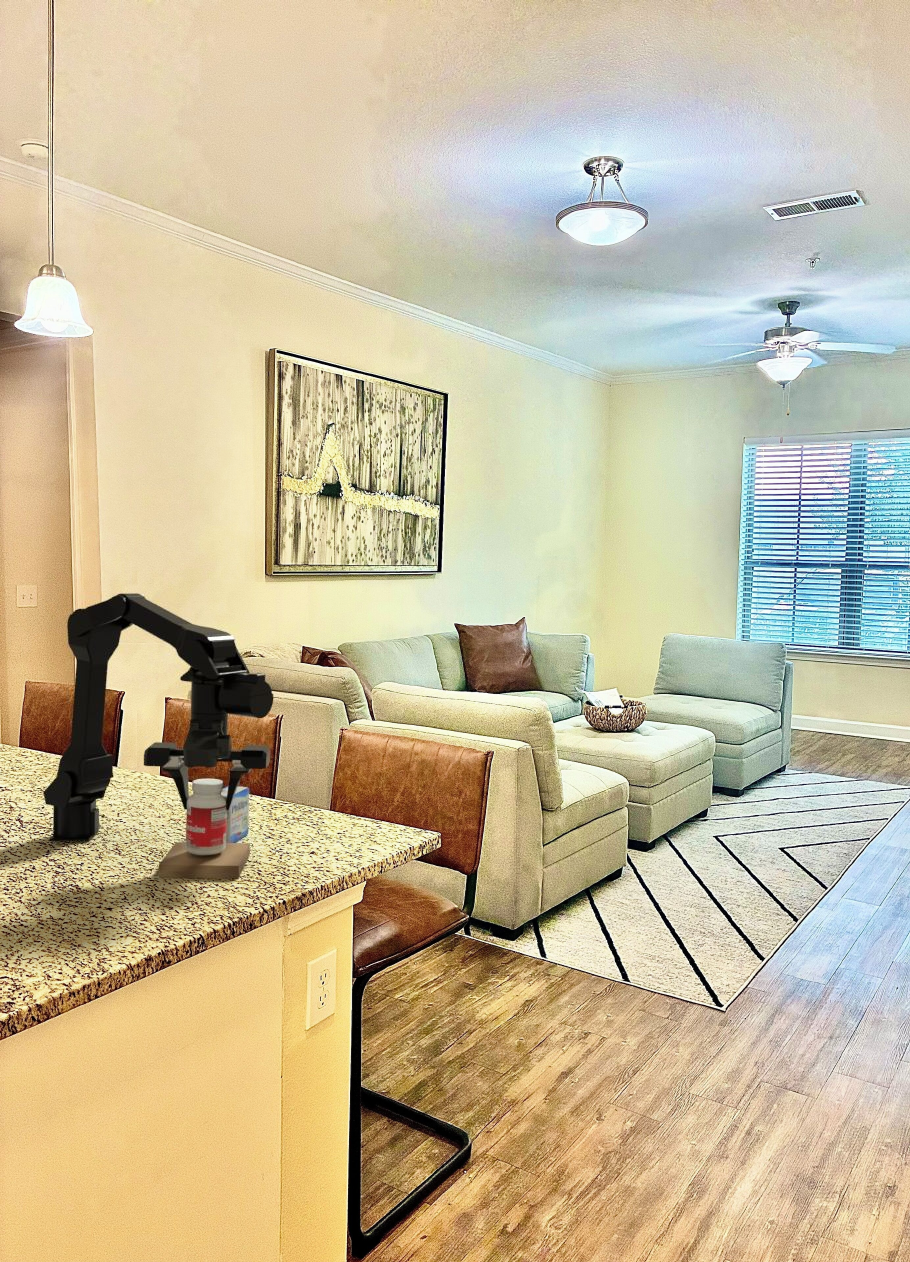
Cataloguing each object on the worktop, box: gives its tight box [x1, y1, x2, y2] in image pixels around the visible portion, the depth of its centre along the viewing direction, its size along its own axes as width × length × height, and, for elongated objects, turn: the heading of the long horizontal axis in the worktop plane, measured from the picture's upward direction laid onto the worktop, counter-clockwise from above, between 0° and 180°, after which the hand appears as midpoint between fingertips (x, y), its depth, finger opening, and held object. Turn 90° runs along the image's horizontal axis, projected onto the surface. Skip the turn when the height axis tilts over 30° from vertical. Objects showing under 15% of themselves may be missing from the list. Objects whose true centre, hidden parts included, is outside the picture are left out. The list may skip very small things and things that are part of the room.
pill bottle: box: [185, 778, 227, 855], centre depth 150 cm, size 6×6×11 cm
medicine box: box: [221, 785, 250, 843], centre depth 165 cm, size 8×4×9 cm, turn 168°
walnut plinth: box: [158, 841, 251, 880], centre depth 150 cm, size 12×12×2 cm
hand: (206, 809), depth 150 cm, fingers closed on pill bottle, 6 cm apart
